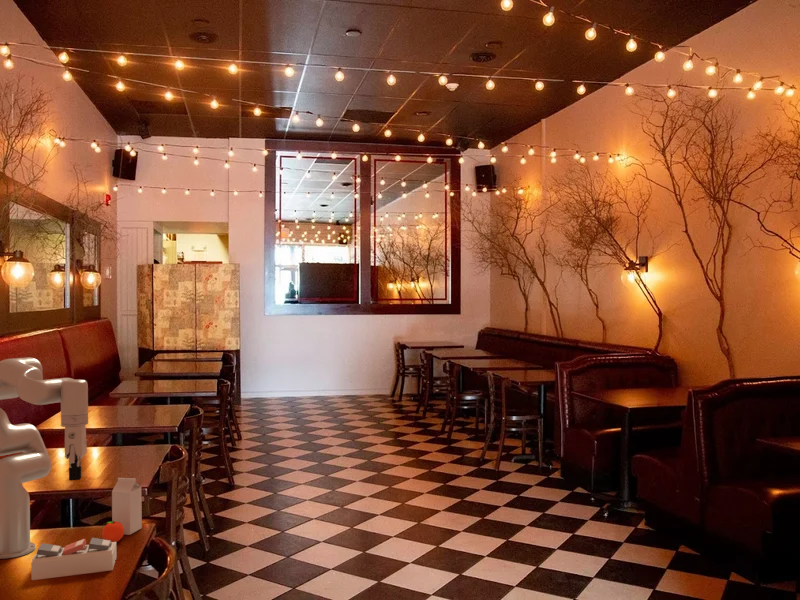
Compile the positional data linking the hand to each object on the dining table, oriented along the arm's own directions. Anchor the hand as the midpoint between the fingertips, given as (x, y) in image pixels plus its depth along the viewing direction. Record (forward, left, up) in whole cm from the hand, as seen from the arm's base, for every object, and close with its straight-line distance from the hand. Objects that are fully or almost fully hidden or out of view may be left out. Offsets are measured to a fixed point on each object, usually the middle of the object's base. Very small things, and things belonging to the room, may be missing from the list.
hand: (75, 479), depth 203 cm
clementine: (+8, +21, -27) cm, 35 cm away
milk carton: (+12, +31, -27) cm, 43 cm away
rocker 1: (-7, -2, -20) cm, 21 cm away
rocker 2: (+7, -2, -20) cm, 21 cm away
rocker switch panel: (0, 0, -27) cm, 27 cm away
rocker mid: (0, -2, -20) cm, 20 cm away
